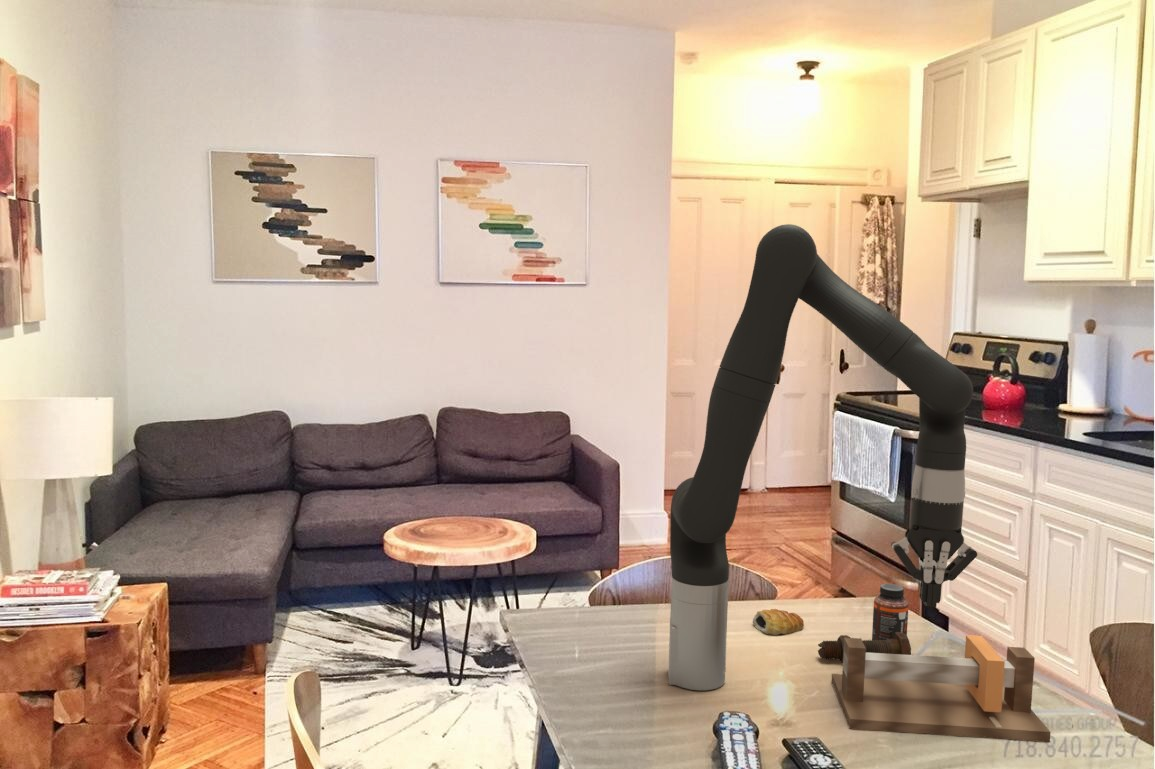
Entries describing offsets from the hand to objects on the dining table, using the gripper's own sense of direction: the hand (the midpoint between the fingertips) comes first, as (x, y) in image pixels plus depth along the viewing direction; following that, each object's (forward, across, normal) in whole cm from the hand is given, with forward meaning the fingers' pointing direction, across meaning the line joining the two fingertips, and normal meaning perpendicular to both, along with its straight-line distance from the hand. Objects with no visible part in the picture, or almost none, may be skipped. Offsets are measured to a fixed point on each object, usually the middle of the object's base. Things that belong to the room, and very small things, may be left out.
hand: (929, 604), depth 142 cm
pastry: (+16, +20, -28) cm, 38 cm away
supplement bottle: (+16, 0, -22) cm, 27 cm away
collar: (+13, -8, +3) cm, 15 cm away
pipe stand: (+16, -1, +3) cm, 16 cm away
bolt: (+16, +6, -15) cm, 23 cm away
